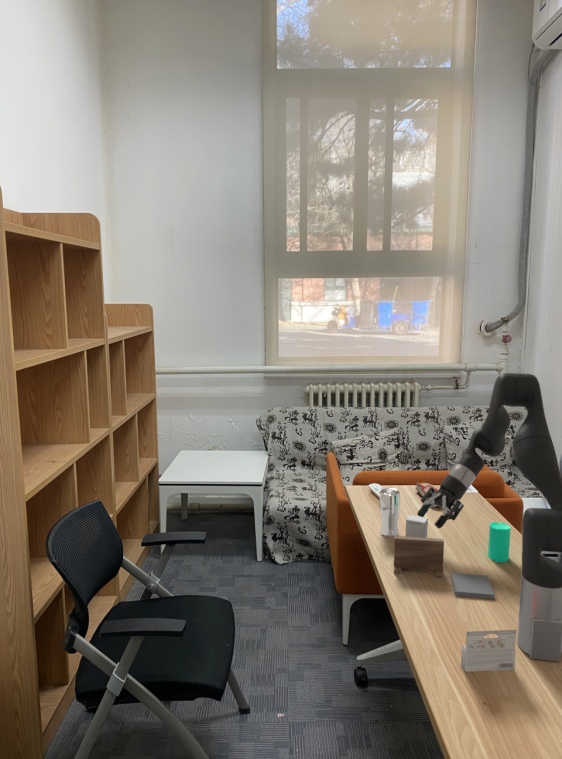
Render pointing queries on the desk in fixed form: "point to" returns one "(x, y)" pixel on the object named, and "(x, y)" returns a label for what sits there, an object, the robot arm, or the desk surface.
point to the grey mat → (472, 585)
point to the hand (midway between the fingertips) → (427, 521)
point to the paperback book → (424, 488)
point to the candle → (499, 542)
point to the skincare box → (416, 526)
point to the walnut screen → (418, 555)
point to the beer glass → (389, 511)
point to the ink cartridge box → (489, 651)
